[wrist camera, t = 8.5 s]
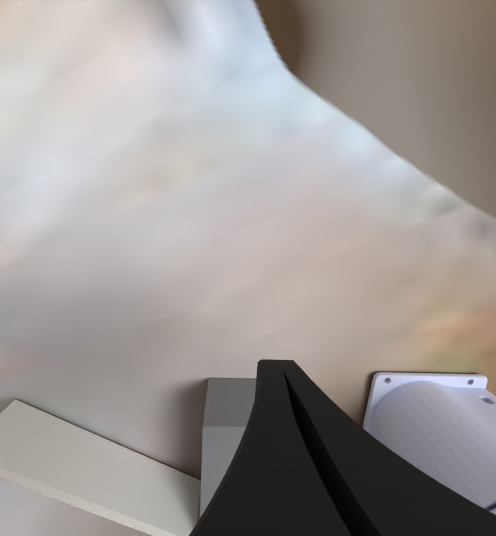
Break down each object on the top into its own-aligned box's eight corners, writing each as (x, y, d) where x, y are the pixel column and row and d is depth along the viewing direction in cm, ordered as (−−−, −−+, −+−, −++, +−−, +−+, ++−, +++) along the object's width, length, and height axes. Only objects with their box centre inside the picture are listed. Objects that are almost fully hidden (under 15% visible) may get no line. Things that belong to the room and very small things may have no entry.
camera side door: (15, 399, 20) (-41, 451, 16) (205, 482, 23) (199, 544, 19) (8, 410, 20) (-49, 465, 16) (197, 492, 23) (190, 554, 19)
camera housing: (297, 379, 21) (314, 426, 17) (283, 486, 24) (294, 550, 20) (208, 378, 21) (202, 426, 16) (204, 487, 23) (198, 554, 19)
